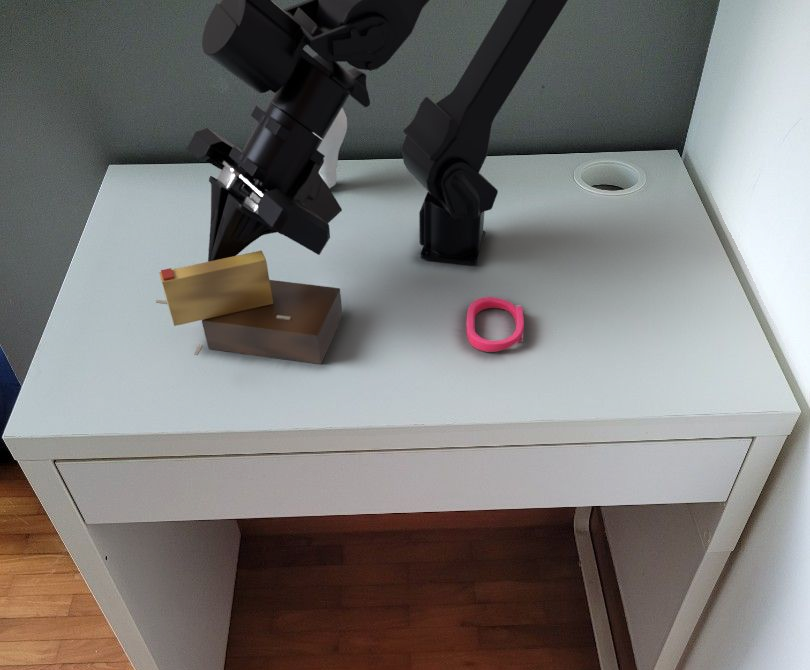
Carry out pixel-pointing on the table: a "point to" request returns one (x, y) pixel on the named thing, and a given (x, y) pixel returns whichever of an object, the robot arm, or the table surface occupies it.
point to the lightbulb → (332, 148)
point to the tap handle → (217, 287)
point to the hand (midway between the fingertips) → (213, 266)
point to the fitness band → (488, 344)
